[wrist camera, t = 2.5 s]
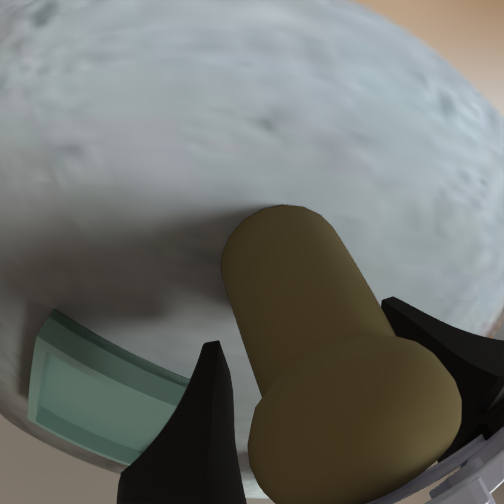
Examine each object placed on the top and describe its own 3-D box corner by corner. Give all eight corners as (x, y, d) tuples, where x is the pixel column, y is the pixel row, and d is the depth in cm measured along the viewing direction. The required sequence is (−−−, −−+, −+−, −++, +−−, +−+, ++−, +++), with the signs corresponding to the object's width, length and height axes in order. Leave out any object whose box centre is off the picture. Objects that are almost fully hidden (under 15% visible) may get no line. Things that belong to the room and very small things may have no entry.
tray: (230, 395, 17) (233, 424, 15) (158, 453, 21) (157, 474, 18) (54, 308, 13) (36, 335, 11) (36, 398, 16) (27, 419, 14)
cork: (226, 321, 15) (245, 537, 5) (215, 209, 12) (212, 485, 2) (335, 309, 15) (430, 484, 5) (345, 202, 13) (542, 358, 3)
